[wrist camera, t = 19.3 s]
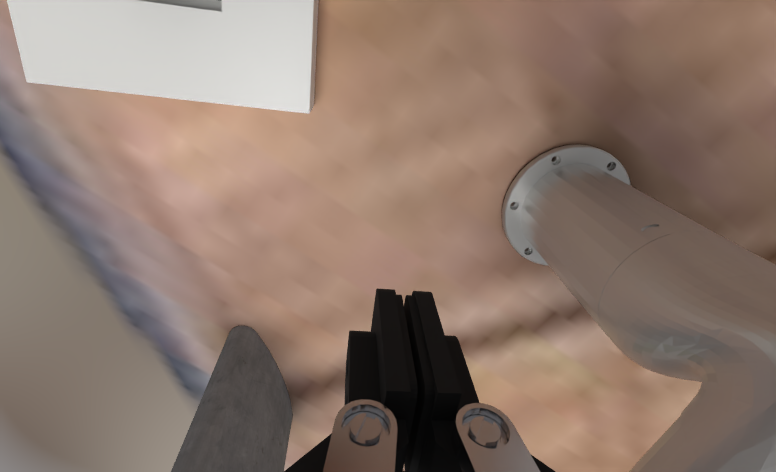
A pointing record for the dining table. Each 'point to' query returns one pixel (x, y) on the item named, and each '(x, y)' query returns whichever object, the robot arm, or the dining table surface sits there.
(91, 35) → the socket
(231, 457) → the hip flask
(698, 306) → the robot arm
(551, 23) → the dining table surface
